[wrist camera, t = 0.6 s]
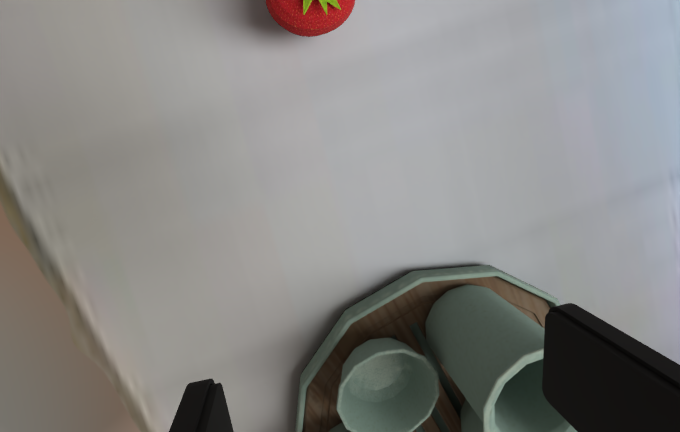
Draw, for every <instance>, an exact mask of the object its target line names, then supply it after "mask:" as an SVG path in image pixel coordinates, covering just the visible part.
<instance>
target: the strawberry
mask: <svg viewBox="0 0 680 432" xmlns="http://www.w3.org/2000/svg"><path fill="white" fill-rule="evenodd" d="M354 3H355V0H266V5H267V7H268V10H269V12H270V14H271V16H272V17H273V19H274V20H275V21H276V22H277V23H278V24H279V25H280V26H282V27H283V28H285V29H286V30H288V31H289V32H291V33H294V34H296V35H300V36H308V37H310V36H318V35H322V34H325V33H328V32H330V31H332V30H334V29H336V28H337V27H339V26H340V25H342V24H343V23H344V21H345V20H346V19H347V18H348V17H349V15H350V14H351V12H352V9H353V7H354Z"/></svg>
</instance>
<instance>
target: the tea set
mask: <svg viewBox="0 0 680 432" xmlns="http://www.w3.org/2000/svg"><path fill="white" fill-rule="evenodd" d="M559 305H560V303H559V301H558V300H557V299H556V298H555V297H553V296H551V295H550V294H548V293H546V292H544V291H542V290H540V289H538V288H536V287H534V286H532V285H530V284H528V283H525V282H523V281H521V280H519V279H517V278H515V277H513V276H511V275H509V274H507V273H505V272H503V271H501V270H499V269H497V268H494V267H492V266H490V265H483V266H470V267H457V268H445V269H432V270H419V271H411V272H410V273H408V274H406V275H405V276H403V277H401V278H399V279H398V280H396V281H394V282H393V283H391V284H389V285H387V286H386V287H384V288H382V289H381V290H379V291H377V292H375V293H374V294H372V295H370V296H369V297H367V298H365V299H363V300H362V301H360V302H358V303H356V304H355V305H353V306H351V307H350V308H348V309H346V310H345V311H344V313H343V314H342V316H341V317H340V319H339V320H338V321H337V323H336V324H335V326H334V327H333V329H332V330H331V332H330V333H329V335H328V336H327V337H326V339H325V340H324V342H323V343H322V345H321V346H320V348H319V349H318V350H317V352H316V353H315V355H314V356H313V358H312V359H311V361H310V362H309V364H308V365H307V366H306V368H305V369H304V371H303V373H302V374H301V376H300V385H299V395H298V406H297V417H296V427H295V432H577V431H576V430H575V429H574V428H573V427H572V426H571V425H570V424H569V423H568V422H567V421H566V420H565V419H564V418H563V417H562V416H561V415H560V414H559V413H558V412H557V411H556V410H555V409H554V408H553V407H552V406H551V405H550V404H549V402H548V401H547V400H546V398H545V396H544V394H543V391H542V378H543V354H544V330H545V316H546V314H548V312H549V309H550V308H551V307H554V306H559Z"/></svg>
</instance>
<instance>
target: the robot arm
mask: <svg viewBox="0 0 680 432" xmlns="http://www.w3.org/2000/svg"><path fill="white" fill-rule="evenodd" d="M542 391H543V394H544V396H545V398H546V400H547V401H548V402H549V404H550V405H551V406H552V407H553V408H554V409H555V410H556V411H557V412H558V413H559V414H560V415H561V416H562V417H563V418H564V419H565V420H566V421H567V422H568V423H569V424H570V425H571V426H572V427H573V428H574V429H575V430H576V431H577V432H680V365H679V364H677V363H675V362H674V361H672V360H670V359H669V358H667V357H665V356H663V355H662V354H660V353H658V352H656V351H655V350H653V349H651V348H649V347H648V346H646V345H644V344H643V343H641V342H639V341H637V340H636V339H634V338H632V337H630V336H629V335H627V334H625V333H624V332H622V331H620V330H618V329H617V328H615V327H613V326H611V325H610V324H608V323H606V322H605V321H603V320H601V319H599V318H598V317H596V316H594V315H592V314H591V313H589V312H587V311H586V310H584V309H582V308H580V307H579V306H577V305H575V304H572V303H568V304H564V305H559V306H554V307H551V308H550V309H549V312H548V314H546V316H545V330H544V354H543V378H542ZM169 432H233V428H232V424H231V420H230V416H229V412H228V407H227V403H226V399H225V395H224V391H223V387H222V385H221V383H217V384H215V383H214V381H213V379H207V380H202V381H198V382H193V383H189V384H188V385H187V387H186V389H185V392H184V394H183V397H182V400H181V402H180V405H179V407H178V410H177V412H176V415H175V418H174V420H173V423H172V425H171V428H170V431H169Z"/></svg>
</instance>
